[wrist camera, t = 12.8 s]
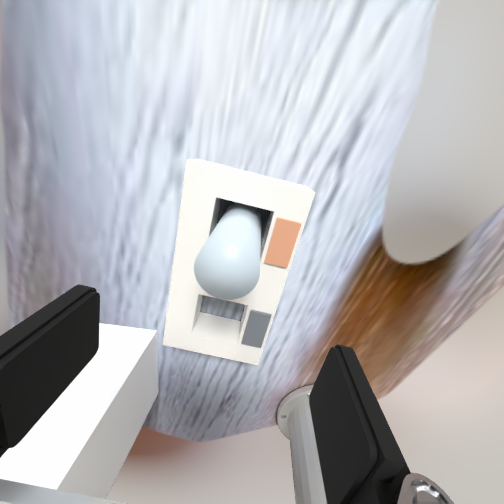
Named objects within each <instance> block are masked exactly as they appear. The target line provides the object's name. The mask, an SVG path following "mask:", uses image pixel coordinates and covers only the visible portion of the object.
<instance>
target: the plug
mask: <svg viewBox="0 0 504 504" xmlns="http://www.w3.org/2000/svg"><path fill="white" fill-rule="evenodd" d="M260 252H261V215H260V213H259V211H258V209H257V208H256V207H254V206H250V205H246V204H242V203H238V202H237V203H234V204H232V205H231V206H230V207H228V209H227V210H226V212H225V213H224V215H223V216H222V218H221V219H220V221H219V222H218V224H217V226H216V227H215V229H214V230H213V232H212V233H211V235H210V236H209V238H208V240H207V241H206V243H205V244H204V246H203V247H202V249H201V250H200V252H199V254H198V255H197V257H196V259H195V263H194V274H195V277H196V280H197V282H198V284H199V285H200V286H201V288H202V289H203V290H204V291H205V292H207V293H208V294H210V295H212V296H214V297H216V298H219V299H224V300H233V299H238V298H241V297H244V296H246V295H247V294H249V293H250V292H251V291H252V290H253V289H254V288H255V286H256V285H257V283H258V280H259V276H260Z"/></svg>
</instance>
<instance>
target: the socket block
mask: <svg viewBox="0 0 504 504" xmlns="http://www.w3.org/2000/svg"><path fill="white" fill-rule="evenodd" d="M314 195H315V192H314V191H313V190H311V189H310V188H309V187H308V186H304V185H300V184H296V183H292V182H288V181H284V180H280V179H276V178H272V177H268V176H264V175H260V174H257V173H253V172H249V171H245V170H241V169H237V168H233V167H229V166H225V165H221V164H217V163H213V162H209V161H205V160H201V159H190V160H186V167H185V175H184V183H183V191H182V198H181V206H180V214H179V222H178V230H177V237H176V245H175V253H174V261H173V269H172V276H171V284H170V292H169V300H168V308H167V315H166V323H165V331H164V339H163V345H166V346H170V347H175V348H180V349H184V350H189V351H193V352H198V353H203V354H207V355H212V356H217V357H221V358H226V359H231V360H235V361H240V362H244V363H249V364H254V365H258V364H259V361H260V358H261V355H262V352H263V349H264V346H265V342H266V339H267V336H268V333H269V330H270V327H271V324H272V321H273V318H274V315H275V312H276V309H277V306H278V303H279V300H280V297H281V294H282V291H283V288H284V285H285V282H286V279H287V276H288V273H289V270H290V267H291V264H292V261H293V258H294V255H295V252H296V249H297V246H298V243H299V240H300V237H301V234H302V231H303V228H304V225H305V222H306V219H307V216H308V213H309V210H310V207H311V204H312V201H313V198H314ZM221 199H225V200H229V201H233V202H238V203H242V204H246V205H250V206H254V207H258V208H262V209H266V210H270V215H269V219H268V222H267V226H266V230H265V233H264V237H263V241H262V244H261V252H260V276H259V280H258V283H257V285H256V286H255V288H254V289H253V290H252V291H251V292H250V293H249V294H247V295H246V296H244V297H241V298H238V299H233V300H226V301H231V302H235V303H240V304H244V305H245V307H244V311H243V314H242V318H241V321H238V320H234V319H229V318H225V317H220V316H216V315H211V314H207V313H203V312H200V309H201V304H202V298H203V295H204V296H209V297H213V298H216V297H214V296H212V295H210V294H208V293H207V292H205V291H204V290H203V289H202V288H201V286H200V285H199V284H198V282H197V280H196V277H195V274H194V263H195V259H196V257H197V255H198V254H199V252H200V250H201V249H202V247H203V246H204V244H205V243H206V241H207V240H208V238H209V236H210V235H211V233H212V232H213V230H214V229H215V227H216V225H217V219H218V214H219V209H220V204H221ZM218 299H219V298H218ZM222 300H224V299H222Z"/></svg>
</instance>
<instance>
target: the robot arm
mask: <svg viewBox="0 0 504 504" xmlns="http://www.w3.org/2000/svg"><path fill="white" fill-rule="evenodd" d="M99 315H100V295H99V293H97V292H96V289H95V288H92V287H88V286H84V285H76V286H75V287H73V288H72V289H70V290H69V291H67V292H66V293H64V294H63V295H61V296H60V297H58V298H57V299H55V300H54V301H52V302H51V303H49V304H48V305H46V306H45V307H43V308H42V309H40V310H39V311H37V312H36V313H34V314H33V315H31V316H30V317H28V318H27V319H25V320H24V321H22V322H21V323H19V324H18V325H16V326H15V327H13V328H12V329H10V330H9V331H7V332H6V333H4V334H3V335H1V336H0V458H1V457H2V455H3V454H4V453H5V452H6V451H7V450H8V449H9V448H13V447H15V446H16V445H17V444H18V443H19V442H20V441H21V440H22V439H23V438H24V437H25V436H26V434H27V433H28V432H29V431H30V430H31V429H32V428H33V426H34V425H35V424H36V423H37V422H38V421H39V419H40V418H41V417H42V416H43V415H44V414H45V413H46V411H47V410H48V409H49V408H50V407H51V406H52V404H53V403H54V402H55V401H56V400H57V399H58V398H59V396H60V395H61V394H62V393H63V392H64V391H65V390H66V388H67V387H68V386H69V385H70V384H71V383H72V381H73V380H74V379H75V378H76V377H77V376H78V375H79V373H80V372H81V371H82V370H83V369H84V368H85V366H86V365H87V364H88V363H89V362H90V361H91V360H92V358H93V357H94V356H95V355H96V353H97V351H98V348H99ZM277 422H278V426H279V429H280V430H281V432H282V433H283V434H284V436H285V437H287V438H288V439H289V440H290V446H291V458H292V468H293V479H294V490H295V500H296V504H454V503H453V501H452V500H451V499H450V498H449V497H448V495H447V494H446V493H445V492H444V491H443V490H442V489H441V488H440V487H439V486H438V485H437V484H436V483H434V482H433V481H431V480H430V479H429V478H427V477H425V476H423V475H420V474H416V473H411V472H410V470H409V468H408V466H407V464H406V462H405V459H404V458H403V455H402V453H401V451H400V449H399V447H398V444H397V442H396V440H395V438H394V436H393V434H392V431H391V429H390V427H389V425H388V423H387V421H386V418H385V416H384V414H383V412H382V410H381V408H380V405H379V403H378V401H377V399H376V397H375V395H374V393H373V391H372V389H371V387H370V385H369V382H368V380H367V378H366V376H365V374H364V372H363V369H362V367H361V365H360V363H359V361H358V359H357V356H356V354H355V352H354V350H353V349H352V348H351V347H346V346H342V345H336V346H335V348H334V347H332V348H331V349H330V350H329V353H328V355H327V357H326V359H325V361H324V364H323V366H322V368H321V370H320V373H319V375H318V377H317V379H316V381H315V384H313V385H308V386H304V387H301V388H299V389H296V390H295V391H293V392H291V393H290V394H288V395H287V396H286V397H285V398H284V399H283V400H282V402H281V403H280V405H279V407H278V411H277ZM0 504H126V503H122V502H117V501H111V500H106V499H102V498H97V497H91V496H86V495H81V494H76V493H71V492H66V491H61V490H56V489H50V488H45V487H40V486H35V485H30V484H25V483H20V482H15V481H9V480H4V479H0Z"/></svg>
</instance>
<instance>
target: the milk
mask: <svg viewBox="0 0 504 504" xmlns="http://www.w3.org/2000/svg"><path fill="white" fill-rule="evenodd" d="M158 393H159V389H158V351H157V331H156V330H148V329H141V328H133V327H125V326H118V325H110V324H102V323H99V348H98V351H97V353H96V355H95V356H94V357H93V358H92V360H91V361H90V362H89V363H88V364H87V365H86V366H85V368H84V369H83V370H82V371H81V372H80V373H79V375H78V376H77V377H76V378H75V379H74V380H73V381H72V383H71V384H70V385H69V386H68V387H67V388H66V390H65V391H64V392H63V393H62V394H61V395H60V396H59V398H58V399H57V400H56V401H55V402H54V403H53V404H52V406H51V407H50V408H49V409H48V410H47V411H46V413H45V414H44V415H43V416H42V417H41V418H40V419H39V421H38V422H37V423H36V424H35V425H34V426H33V428H32V429H31V430H30V431H29V432H28V433H27V434H26V436H25V437H24V438H23V439H22V440H21V441H20V442H19V443H18V444H17V445H16V446H15V447H13V448H9V449H8V450H7V451H6V452H5V453H4V454H3V455H2V457H1V458H0V479H4V480H9V481H15V482H20V483H25V484H30V485H35V486H40V487H45V488H50V489H56V490H61V491H66V492H71V493H76V494H81V495H86V496H91V497H97V498H102V499H106V498H107V496H108V494H109V492H110V490H111V488H112V486H113V484H114V482H115V480H116V478H117V476H118V474H119V472H120V470H121V468H122V466H123V464H124V462H125V460H126V458H127V456H128V454H129V452H130V450H131V448H132V446H133V443H134V442H135V440H136V438H137V435H138V433H139V431H140V429H141V427H142V425H143V423H144V421H145V419H146V417H147V415H148V413H149V411H150V409H151V407H152V405H153V403H154V401H155V399H156V397H157V395H158Z"/></svg>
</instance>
